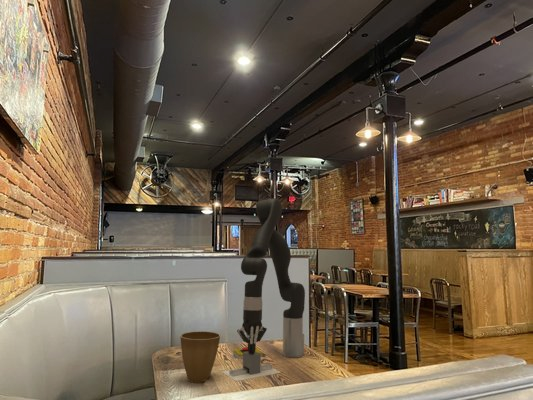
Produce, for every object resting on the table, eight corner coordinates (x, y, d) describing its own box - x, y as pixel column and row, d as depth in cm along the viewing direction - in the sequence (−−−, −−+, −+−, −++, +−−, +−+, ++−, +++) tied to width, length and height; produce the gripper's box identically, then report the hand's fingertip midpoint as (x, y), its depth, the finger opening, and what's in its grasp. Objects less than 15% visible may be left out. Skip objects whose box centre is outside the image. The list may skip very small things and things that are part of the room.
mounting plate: (264, 366, 155) (264, 364, 155) (280, 374, 145) (280, 372, 145) (221, 374, 144) (221, 371, 144) (236, 383, 134) (236, 380, 135)
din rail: (268, 367, 151) (268, 363, 151) (272, 369, 149) (272, 365, 149) (229, 374, 141) (229, 370, 141) (232, 376, 139) (232, 372, 139)
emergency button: (230, 346, 171) (260, 344, 176) (229, 356, 170) (260, 354, 176) (235, 351, 163) (267, 349, 168) (235, 362, 162) (267, 359, 167)
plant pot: (220, 385, 133) (221, 338, 135) (177, 387, 129) (180, 340, 132) (216, 372, 147) (218, 330, 149) (178, 373, 144) (180, 331, 146)
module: (252, 368, 149) (252, 350, 150) (260, 373, 144) (260, 354, 145) (242, 370, 146) (243, 352, 147) (250, 374, 141) (250, 355, 142)
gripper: (261, 305, 155) (260, 349, 153) (233, 307, 148) (232, 353, 145) (271, 308, 149) (270, 353, 146) (243, 310, 142) (241, 357, 139)
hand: (251, 353), depth 146 cm, fingers closed
